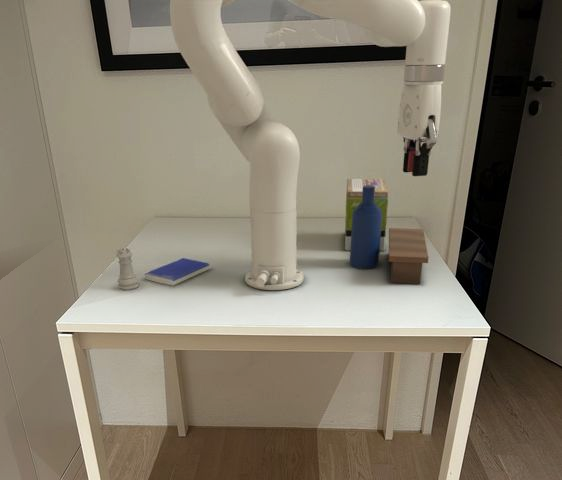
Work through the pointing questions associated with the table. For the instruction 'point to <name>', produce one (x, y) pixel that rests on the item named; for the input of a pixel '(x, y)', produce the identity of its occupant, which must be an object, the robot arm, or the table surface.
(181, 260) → the blue book
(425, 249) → the brown wooden box
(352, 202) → the tea box
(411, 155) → the cap
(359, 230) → the bottle
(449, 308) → the table surface
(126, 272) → the rook chess piece
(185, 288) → the table surface
